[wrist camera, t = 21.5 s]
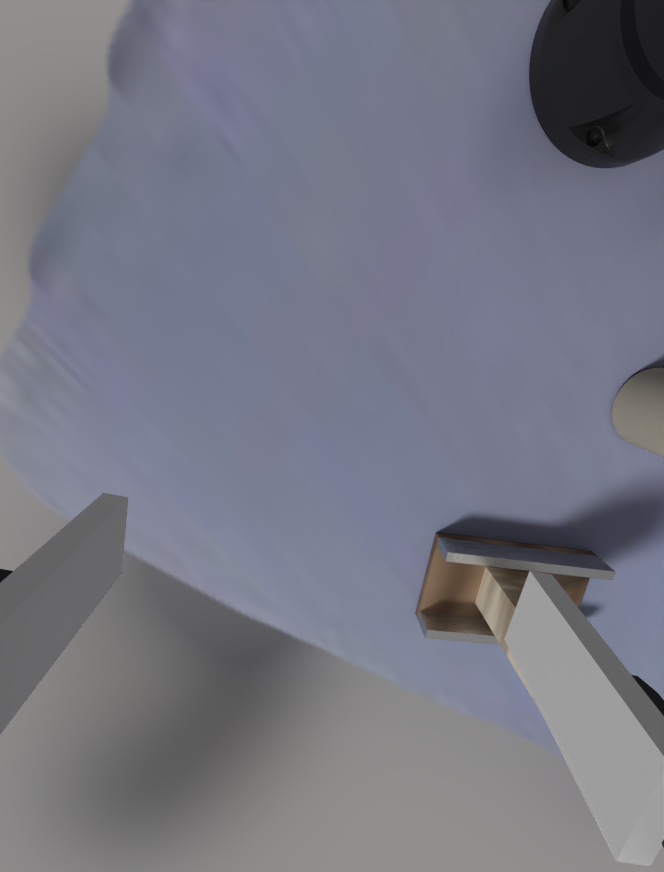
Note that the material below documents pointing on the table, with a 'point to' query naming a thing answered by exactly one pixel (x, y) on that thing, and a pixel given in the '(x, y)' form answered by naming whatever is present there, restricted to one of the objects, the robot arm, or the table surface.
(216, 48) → the table surface
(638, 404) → the travel mug
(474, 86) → the table surface
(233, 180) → the table surface
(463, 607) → the floor track
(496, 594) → the pale wooden block
